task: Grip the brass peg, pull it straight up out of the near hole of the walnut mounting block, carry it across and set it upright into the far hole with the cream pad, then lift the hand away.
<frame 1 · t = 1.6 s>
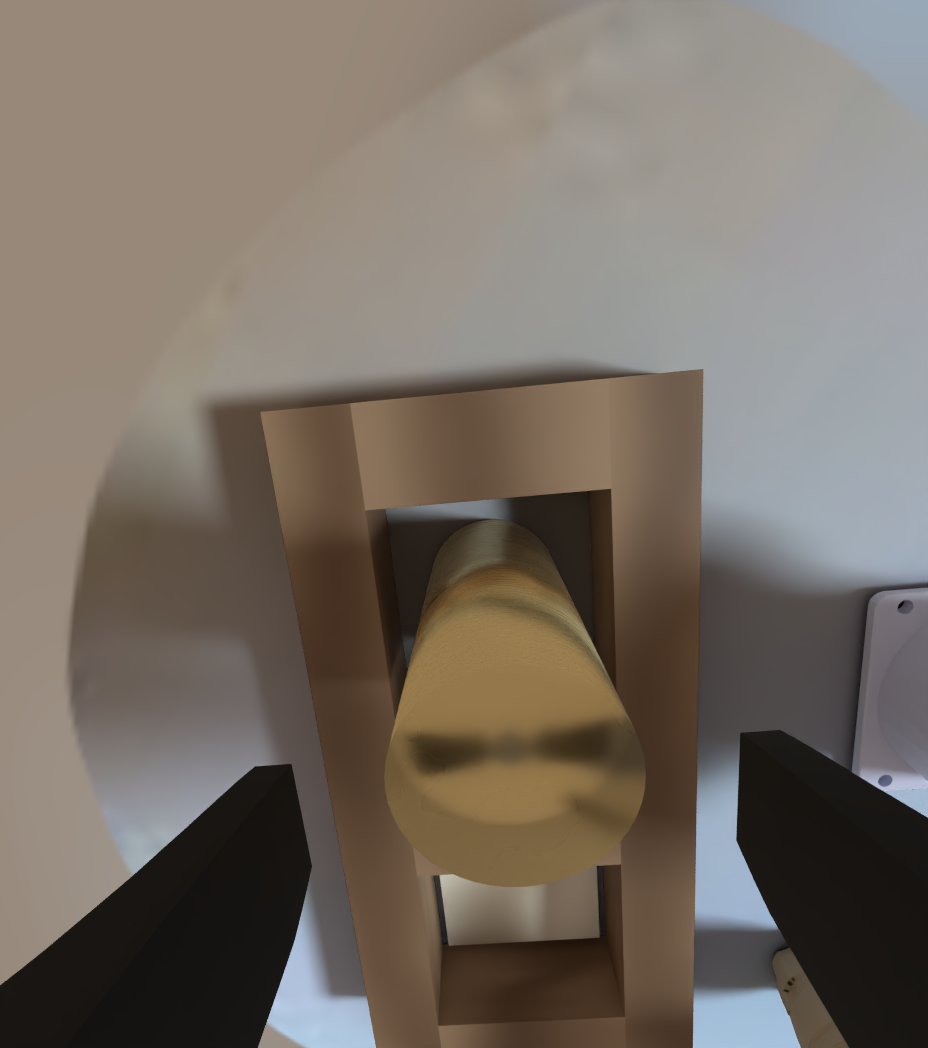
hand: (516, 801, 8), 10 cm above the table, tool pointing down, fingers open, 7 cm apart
handle: (801, 956, 23), on the table
mount block: (506, 738, 20), on the table
peg: (493, 579, 18), resting in mount block
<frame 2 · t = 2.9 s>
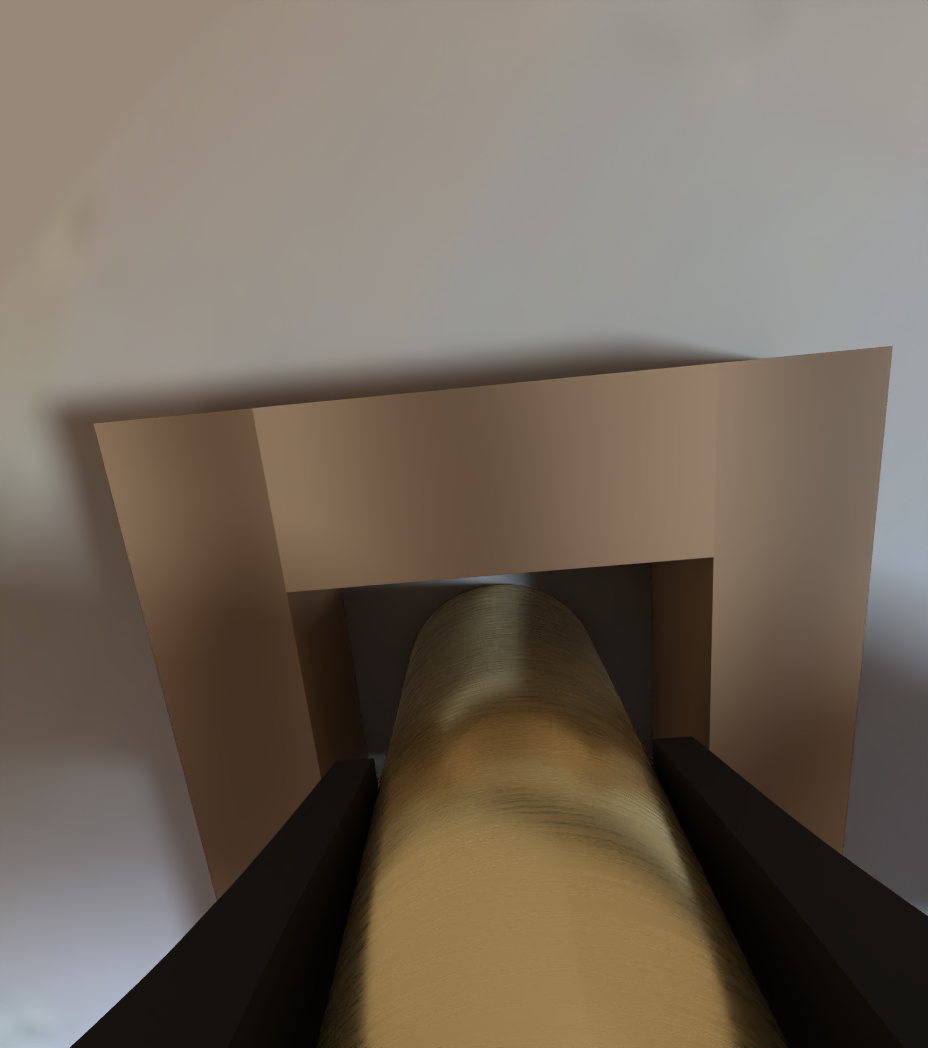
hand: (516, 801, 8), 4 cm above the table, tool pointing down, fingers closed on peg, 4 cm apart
mount block: (521, 892, 14), on the table
peg: (502, 672, 12), resting in mount block, touching gripper
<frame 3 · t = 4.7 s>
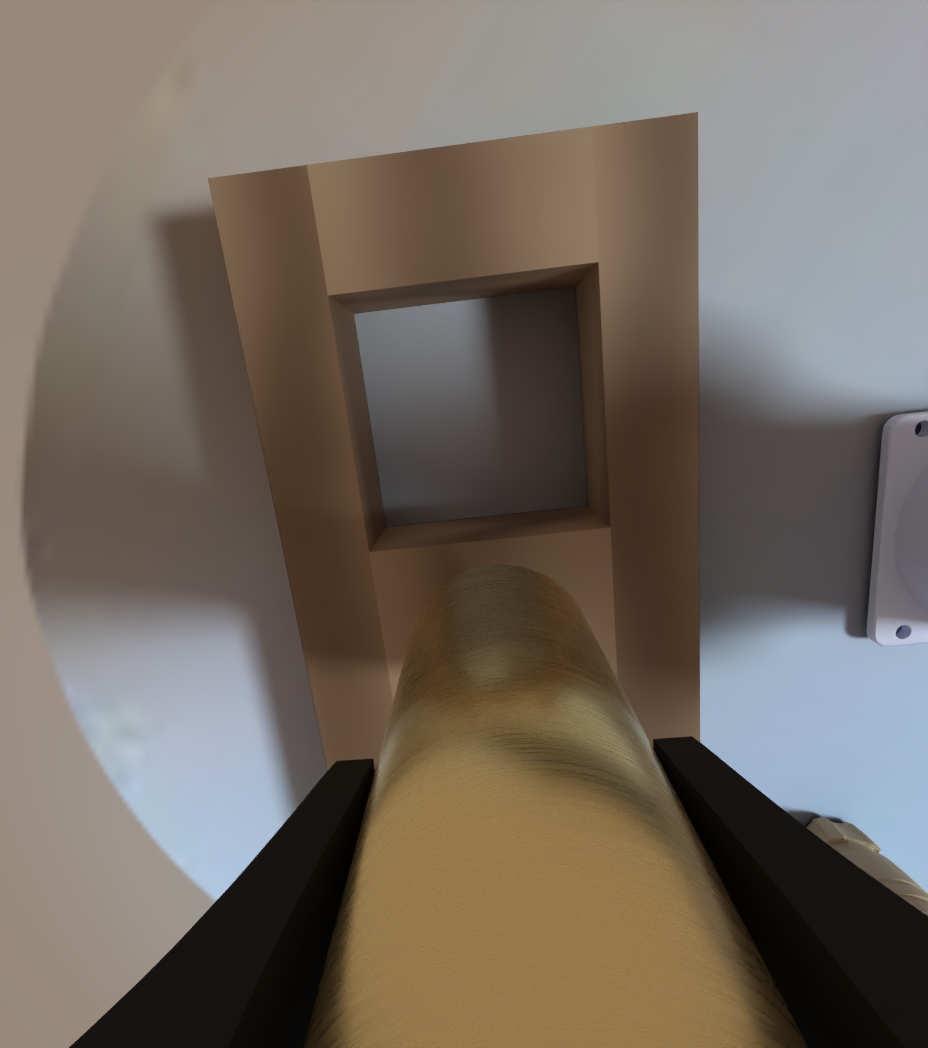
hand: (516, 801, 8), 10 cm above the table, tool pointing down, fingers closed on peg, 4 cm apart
handle: (816, 841, 21), on the table
mount block: (494, 597, 19), on the table
peg: (499, 650, 13), point 6 cm above the table, touching gripper
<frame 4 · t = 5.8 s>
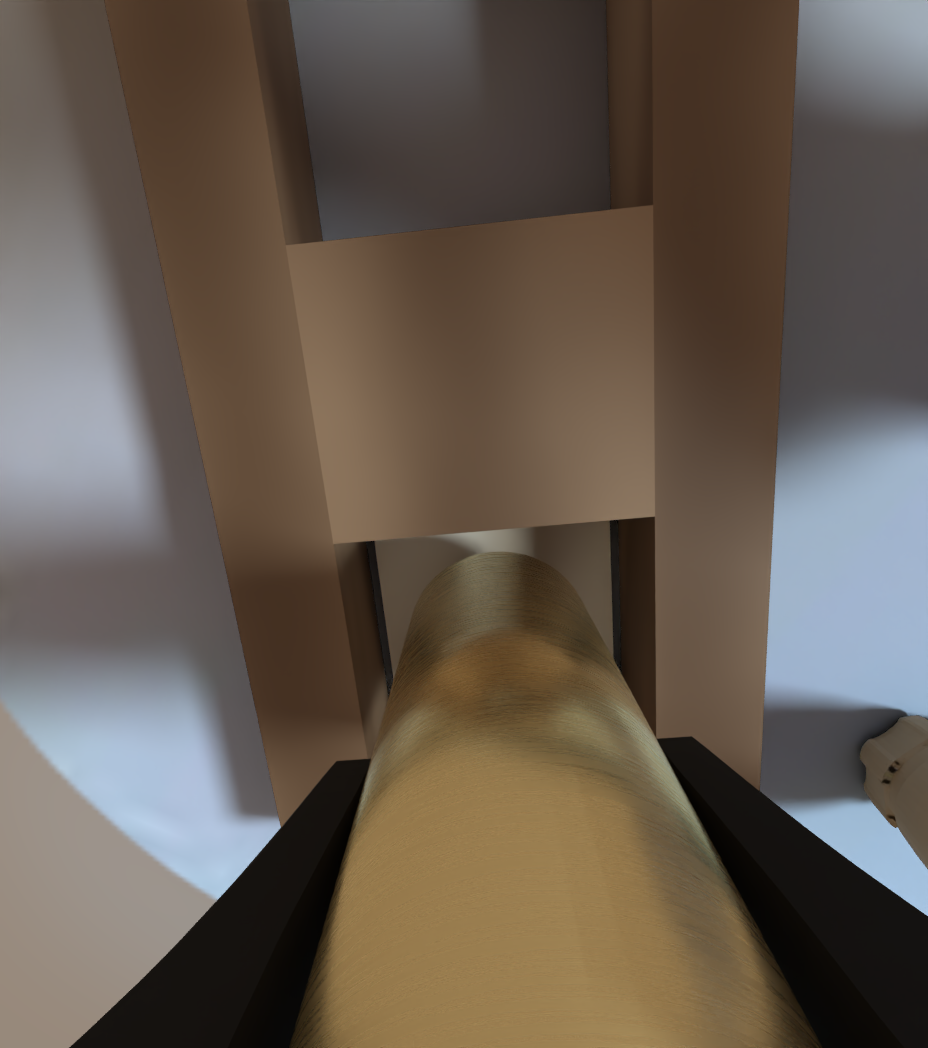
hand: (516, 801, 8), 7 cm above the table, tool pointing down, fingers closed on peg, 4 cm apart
handle: (899, 751, 16), on the table
mount block: (478, 389, 13), on the table
peg: (499, 637, 13), point 2 cm above the table, touching gripper
when the fingers open (5 cm above the table, at t = 6.6 s): peg stays where it is, resting on mount block.
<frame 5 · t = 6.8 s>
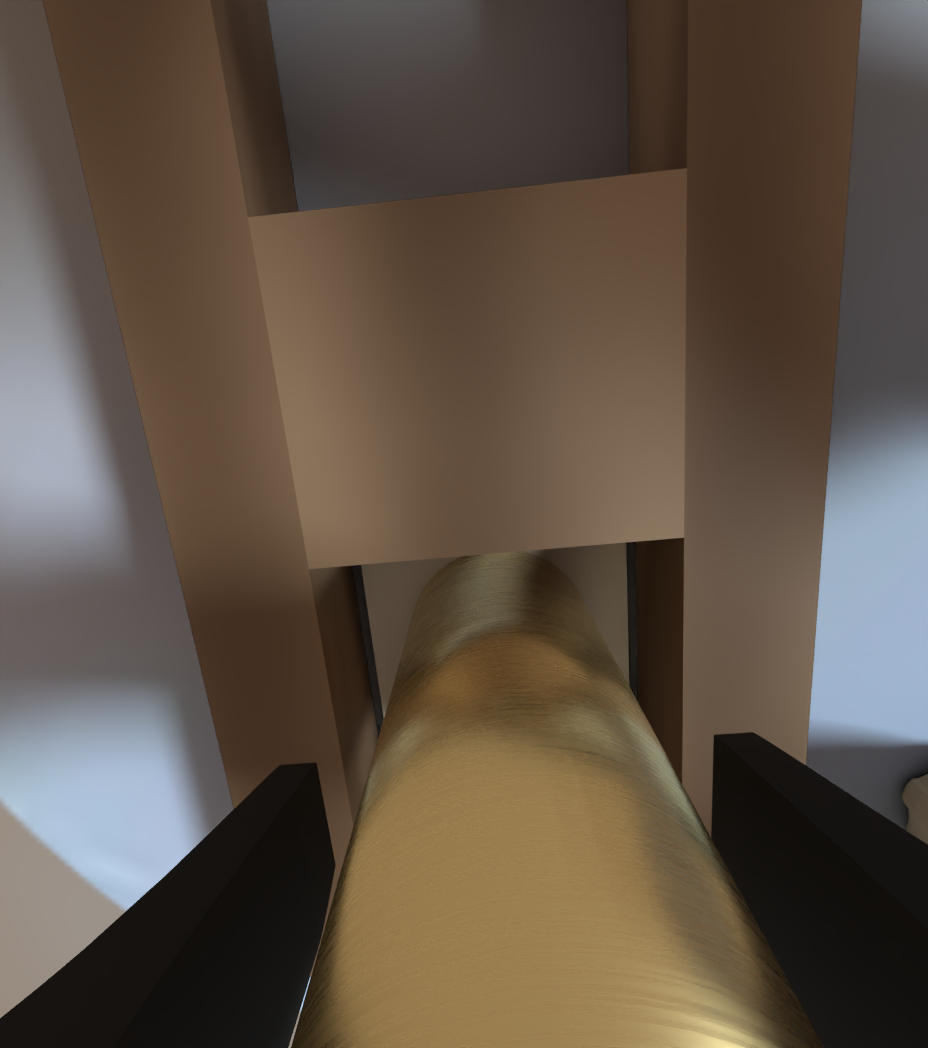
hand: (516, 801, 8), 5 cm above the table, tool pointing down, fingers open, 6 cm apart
mount block: (478, 389, 12), on the table
peg: (499, 632, 13), resting on mount block
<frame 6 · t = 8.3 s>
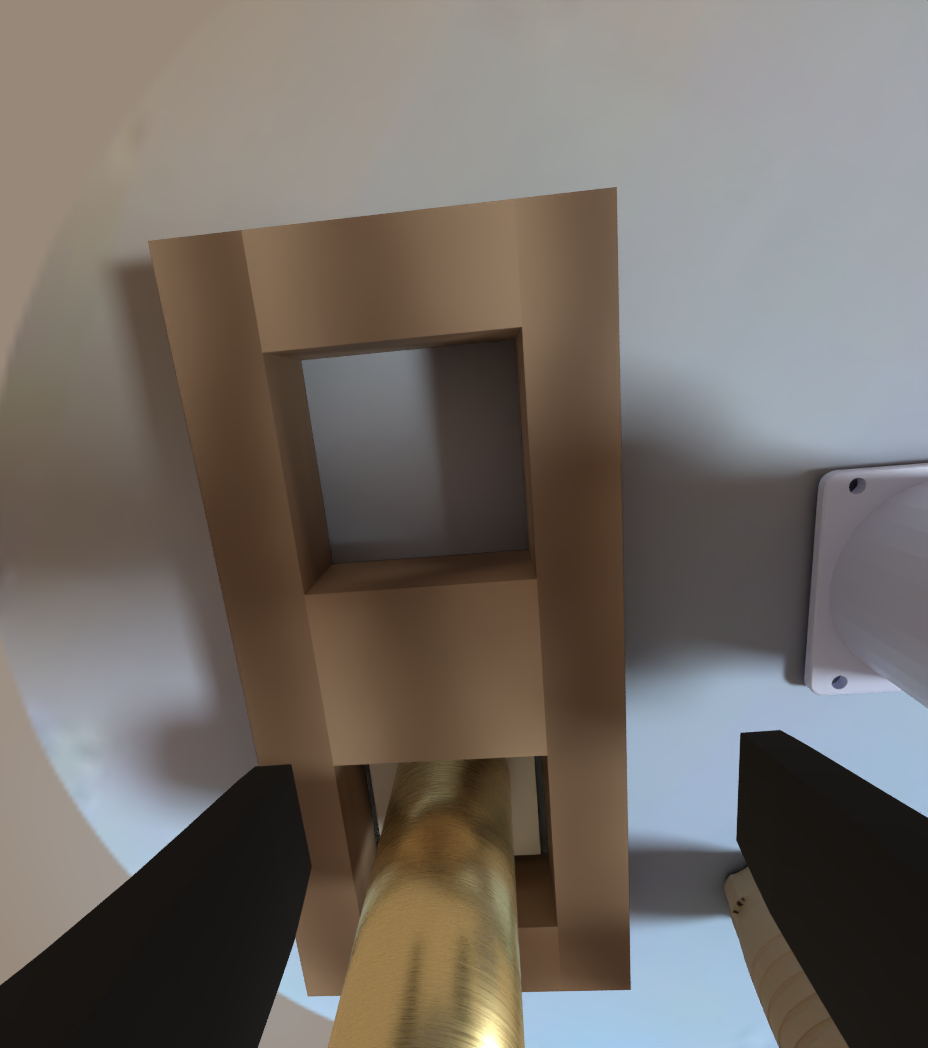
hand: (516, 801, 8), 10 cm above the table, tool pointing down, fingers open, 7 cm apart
handle: (757, 881, 21), on the table
mount block: (438, 634, 19), on the table
peg: (453, 777, 20), resting on mount block
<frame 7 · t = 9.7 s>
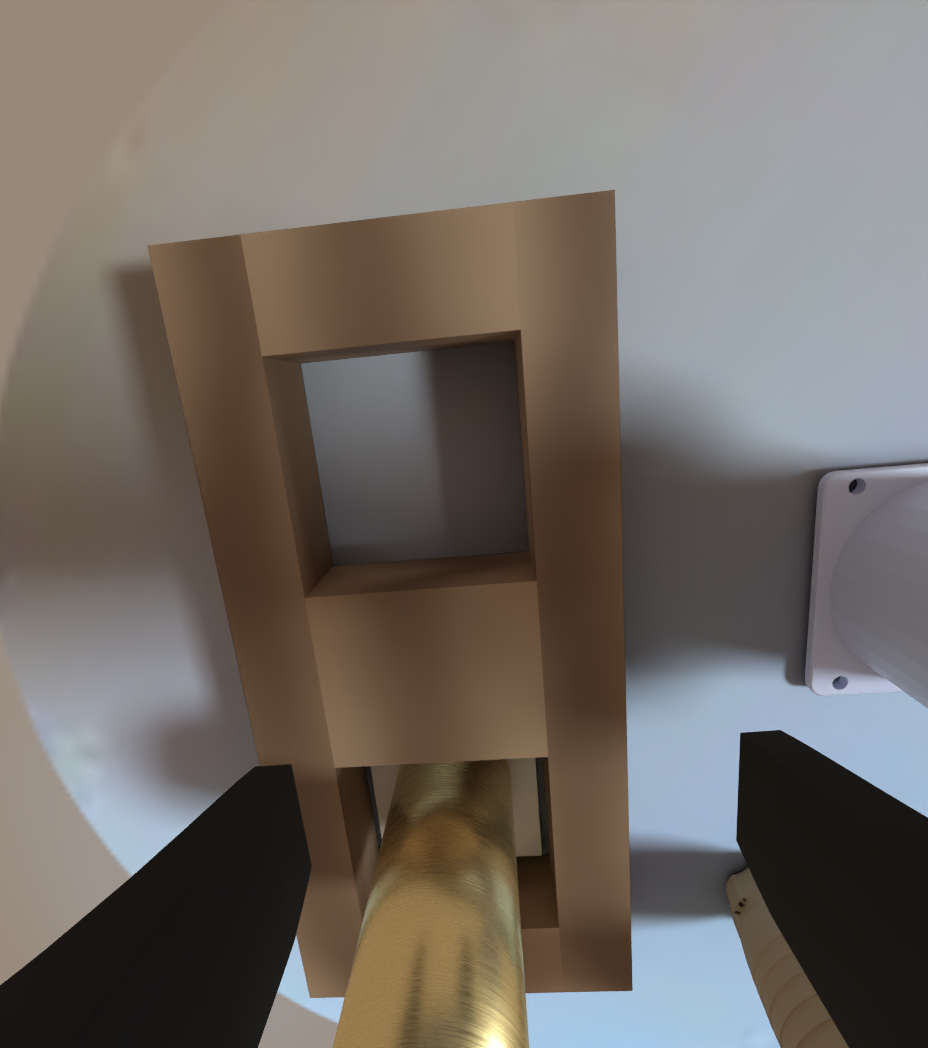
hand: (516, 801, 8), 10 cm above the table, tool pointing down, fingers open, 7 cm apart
handle: (758, 882, 21), on the table
mount block: (438, 636, 19), on the table
peg: (454, 779, 20), resting on mount block
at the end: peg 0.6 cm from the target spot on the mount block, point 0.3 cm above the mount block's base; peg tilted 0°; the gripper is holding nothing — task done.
